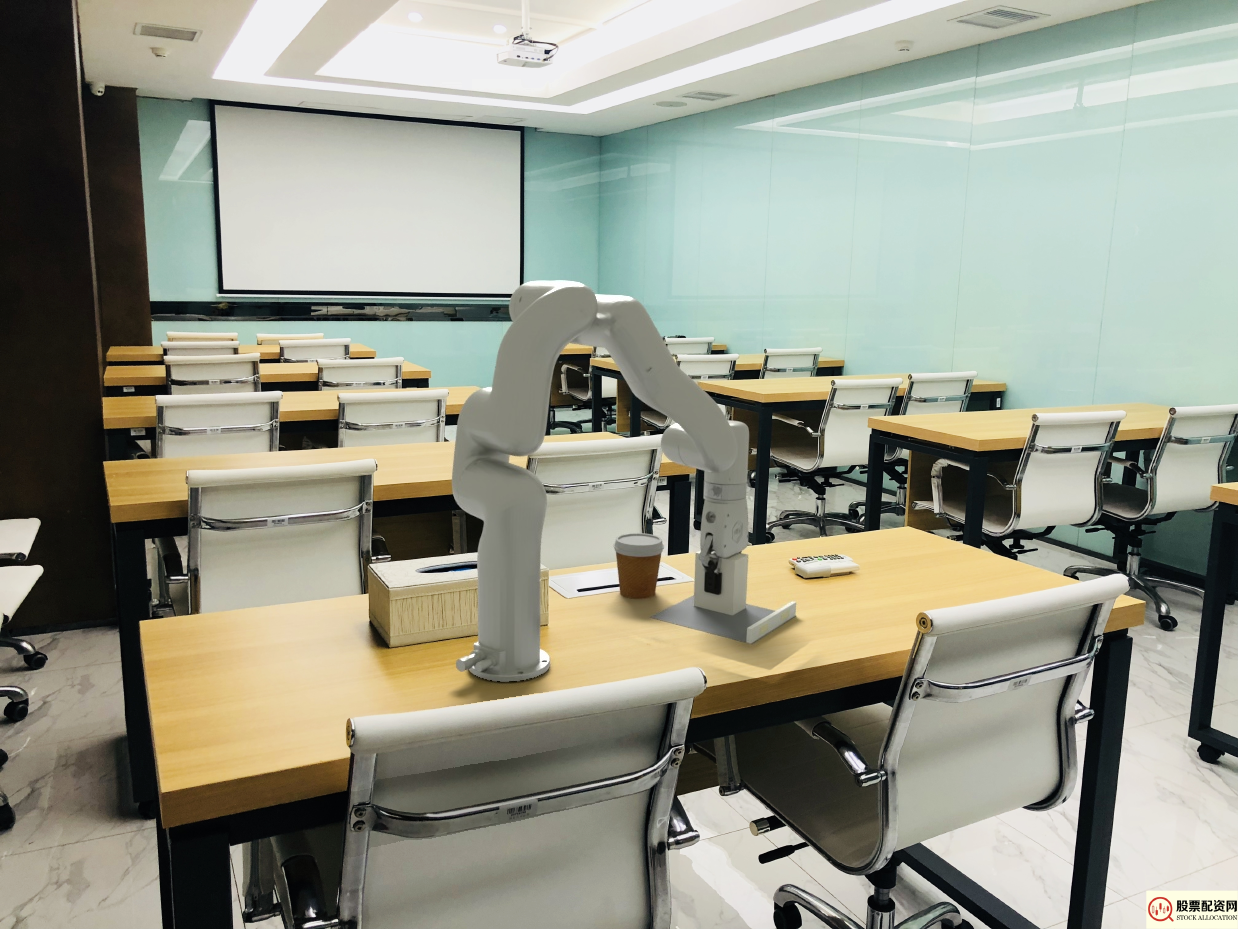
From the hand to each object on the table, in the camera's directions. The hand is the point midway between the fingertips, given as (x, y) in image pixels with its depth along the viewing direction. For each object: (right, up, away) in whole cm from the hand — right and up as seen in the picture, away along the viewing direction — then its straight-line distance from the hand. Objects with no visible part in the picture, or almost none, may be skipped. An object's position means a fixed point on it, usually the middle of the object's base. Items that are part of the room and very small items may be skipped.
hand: (721, 587), depth 167 cm
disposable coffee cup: (-15, -4, +8) cm, 17 cm away
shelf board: (0, -6, -4) cm, 7 cm away
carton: (0, -4, +1) cm, 4 cm away
